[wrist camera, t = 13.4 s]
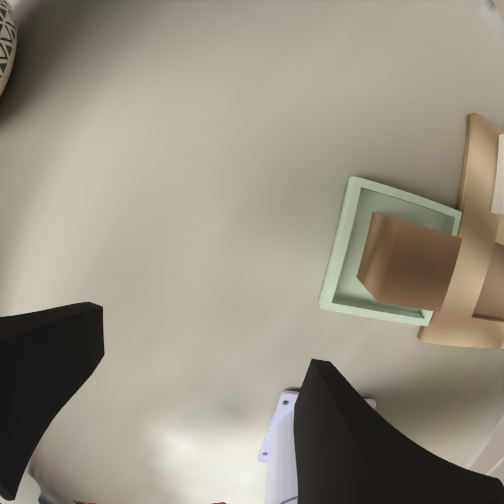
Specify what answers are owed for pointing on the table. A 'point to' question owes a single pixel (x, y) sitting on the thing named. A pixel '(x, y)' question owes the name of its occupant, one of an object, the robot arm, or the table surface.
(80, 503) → the chessboard
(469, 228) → the puzzle board
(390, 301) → the block
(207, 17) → the table surface
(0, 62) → the planter
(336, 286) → the tray
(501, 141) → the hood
